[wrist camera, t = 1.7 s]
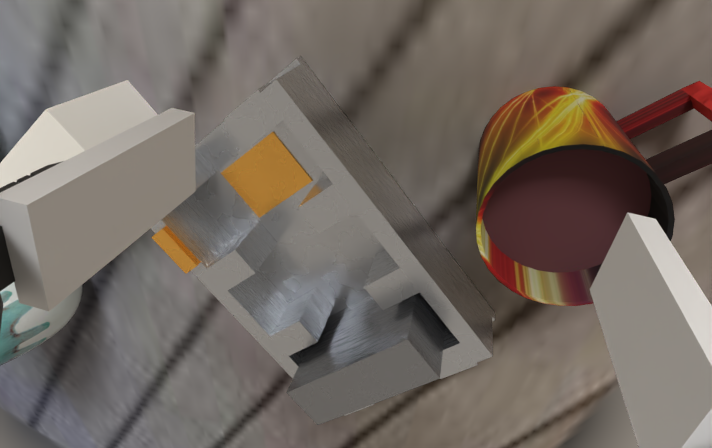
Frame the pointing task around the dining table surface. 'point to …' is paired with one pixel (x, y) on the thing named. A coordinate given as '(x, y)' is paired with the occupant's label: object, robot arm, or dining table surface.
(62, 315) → the vase
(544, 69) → the dining table surface
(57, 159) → the block
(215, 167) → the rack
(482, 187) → the mug
